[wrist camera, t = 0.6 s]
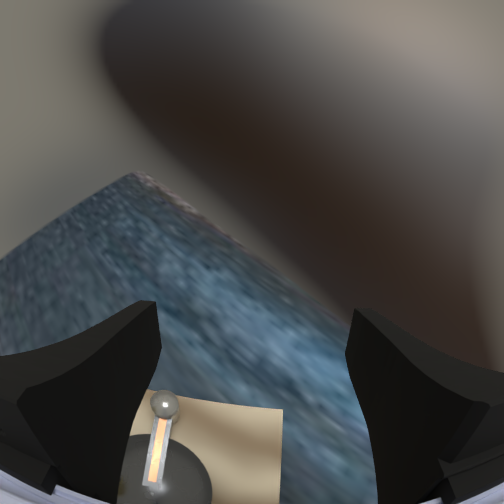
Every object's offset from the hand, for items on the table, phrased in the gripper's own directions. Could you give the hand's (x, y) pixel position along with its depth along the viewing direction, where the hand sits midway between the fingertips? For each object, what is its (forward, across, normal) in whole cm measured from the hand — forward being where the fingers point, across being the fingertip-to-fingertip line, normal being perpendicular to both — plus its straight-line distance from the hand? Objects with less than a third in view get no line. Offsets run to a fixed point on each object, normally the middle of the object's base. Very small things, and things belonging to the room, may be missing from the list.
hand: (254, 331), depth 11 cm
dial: (+3, +7, +17) cm, 18 cm away
